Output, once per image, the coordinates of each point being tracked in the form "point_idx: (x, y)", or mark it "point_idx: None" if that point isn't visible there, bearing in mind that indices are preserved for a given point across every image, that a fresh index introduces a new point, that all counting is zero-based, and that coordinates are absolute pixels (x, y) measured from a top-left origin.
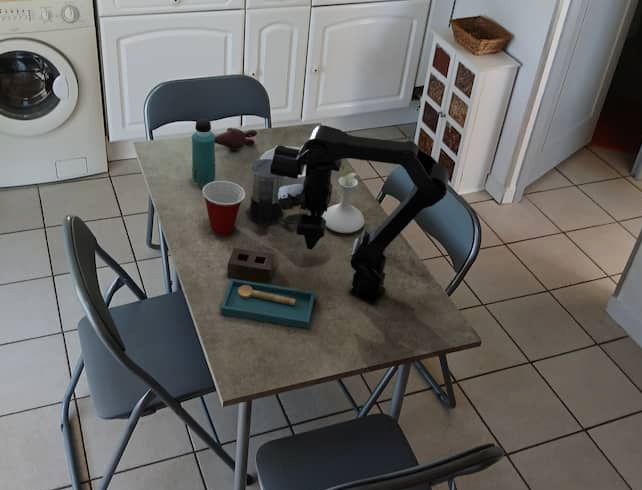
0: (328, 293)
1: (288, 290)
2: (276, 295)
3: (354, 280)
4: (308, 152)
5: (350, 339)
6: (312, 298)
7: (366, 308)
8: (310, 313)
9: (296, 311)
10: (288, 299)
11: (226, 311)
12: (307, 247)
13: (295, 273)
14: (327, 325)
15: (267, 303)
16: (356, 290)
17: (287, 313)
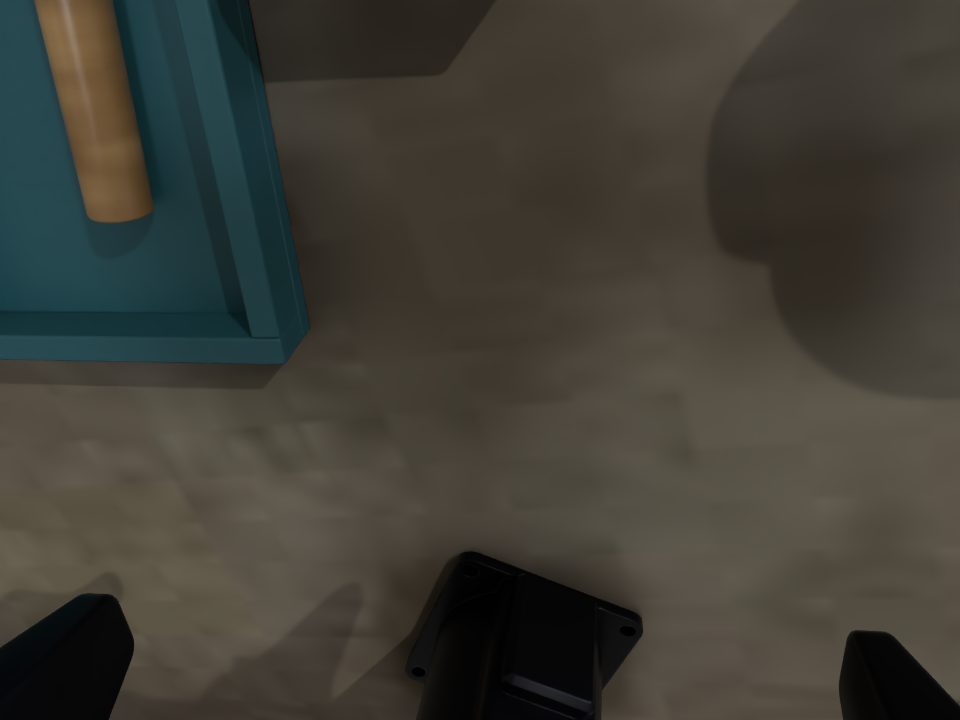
0: (412, 417)
1: (205, 126)
2: (62, 22)
3: (506, 630)
4: None
5: (64, 559)
6: (201, 353)
7: (358, 631)
8: (33, 359)
9: (75, 224)
10: (77, 156)
11: None
12: (45, 628)
13: (589, 111)
14: (97, 437)
15: None
16: (484, 595)
17: (12, 156)
